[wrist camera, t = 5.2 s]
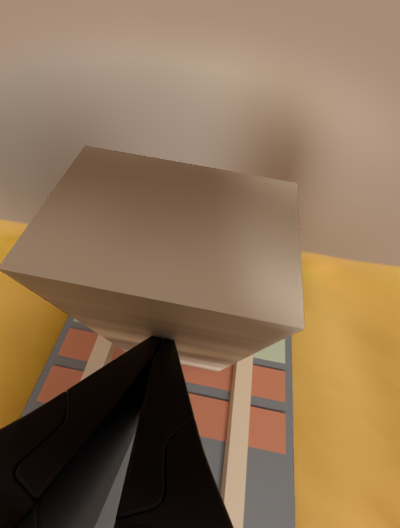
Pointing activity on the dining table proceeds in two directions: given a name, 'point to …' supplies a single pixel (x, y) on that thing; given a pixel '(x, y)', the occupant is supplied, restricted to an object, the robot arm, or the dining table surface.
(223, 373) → the track
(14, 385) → the dining table surface
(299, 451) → the dining table surface
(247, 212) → the cream block
